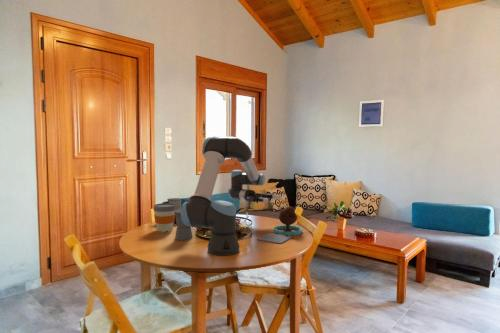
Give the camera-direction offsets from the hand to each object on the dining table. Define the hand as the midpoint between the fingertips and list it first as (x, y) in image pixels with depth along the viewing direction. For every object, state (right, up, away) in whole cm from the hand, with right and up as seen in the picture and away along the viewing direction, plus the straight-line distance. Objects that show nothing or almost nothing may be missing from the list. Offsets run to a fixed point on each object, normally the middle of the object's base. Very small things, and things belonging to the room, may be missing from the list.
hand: (274, 199), depth 200 cm
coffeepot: (-50, -19, -20) cm, 57 cm away
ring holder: (+7, -18, -5) cm, 21 cm away
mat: (-2, -19, -20) cm, 28 cm away
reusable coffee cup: (-65, -18, -4) cm, 67 cm away
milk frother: (-64, -17, +15) cm, 68 cm away
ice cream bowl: (+7, -19, -5) cm, 21 cm away
